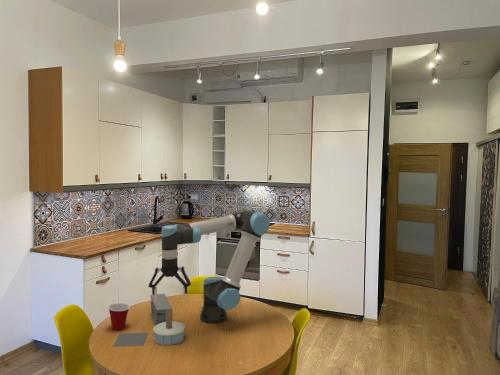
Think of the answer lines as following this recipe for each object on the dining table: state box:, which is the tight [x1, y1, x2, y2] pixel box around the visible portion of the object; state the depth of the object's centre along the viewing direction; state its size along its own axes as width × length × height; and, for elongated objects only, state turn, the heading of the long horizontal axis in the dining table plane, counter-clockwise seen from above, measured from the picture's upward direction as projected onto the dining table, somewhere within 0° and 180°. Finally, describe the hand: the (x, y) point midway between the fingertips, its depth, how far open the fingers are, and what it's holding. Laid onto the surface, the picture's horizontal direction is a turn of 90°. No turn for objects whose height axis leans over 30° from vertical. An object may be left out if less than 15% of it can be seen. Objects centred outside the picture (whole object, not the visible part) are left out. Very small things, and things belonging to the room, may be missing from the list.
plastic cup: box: [107, 302, 131, 331], centre depth 191 cm, size 11×11×12 cm
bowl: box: [153, 330, 185, 346], centre depth 180 cm, size 14×14×5 cm
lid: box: [152, 308, 186, 336], centre depth 180 cm, size 15×15×10 cm
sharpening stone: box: [150, 293, 173, 326], centre depth 202 cm, size 25×8×11 cm, turn 22°
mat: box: [112, 332, 149, 348], centre depth 179 cm, size 14×14×1 cm
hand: (170, 300), depth 180 cm, fingers open, 13 cm apart
